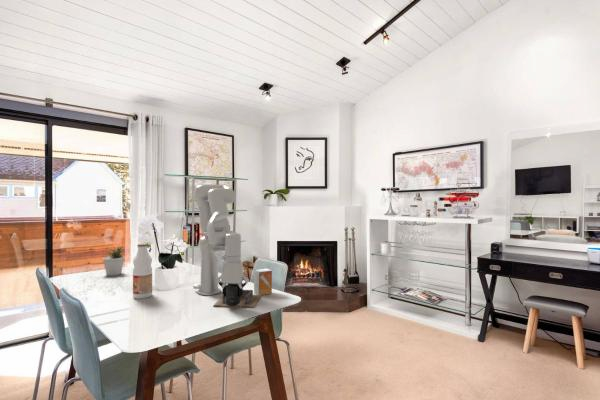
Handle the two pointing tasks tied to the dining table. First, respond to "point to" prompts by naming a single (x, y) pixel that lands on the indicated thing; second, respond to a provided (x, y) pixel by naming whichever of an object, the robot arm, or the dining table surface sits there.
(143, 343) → the dining table surface
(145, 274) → the fruit juice
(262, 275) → the small box
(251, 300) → the dock
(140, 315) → the dining table surface
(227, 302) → the supplement bottle
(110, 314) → the dining table surface
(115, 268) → the potted plant
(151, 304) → the dining table surface
